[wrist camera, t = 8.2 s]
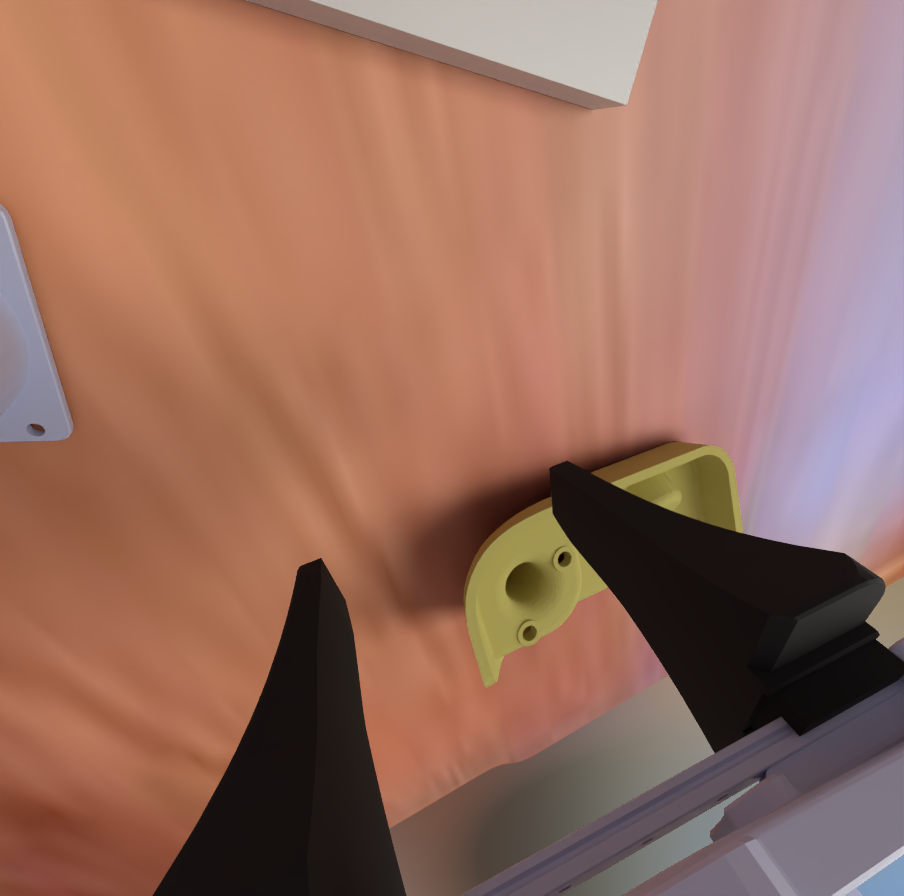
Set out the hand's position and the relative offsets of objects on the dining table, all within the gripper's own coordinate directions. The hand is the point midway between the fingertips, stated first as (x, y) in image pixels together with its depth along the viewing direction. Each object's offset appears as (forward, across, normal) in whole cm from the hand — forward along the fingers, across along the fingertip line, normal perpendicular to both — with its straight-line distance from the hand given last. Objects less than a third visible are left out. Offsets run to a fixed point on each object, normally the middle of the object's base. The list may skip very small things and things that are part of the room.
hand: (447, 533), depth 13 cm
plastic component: (+10, -10, +14) cm, 20 cm away
